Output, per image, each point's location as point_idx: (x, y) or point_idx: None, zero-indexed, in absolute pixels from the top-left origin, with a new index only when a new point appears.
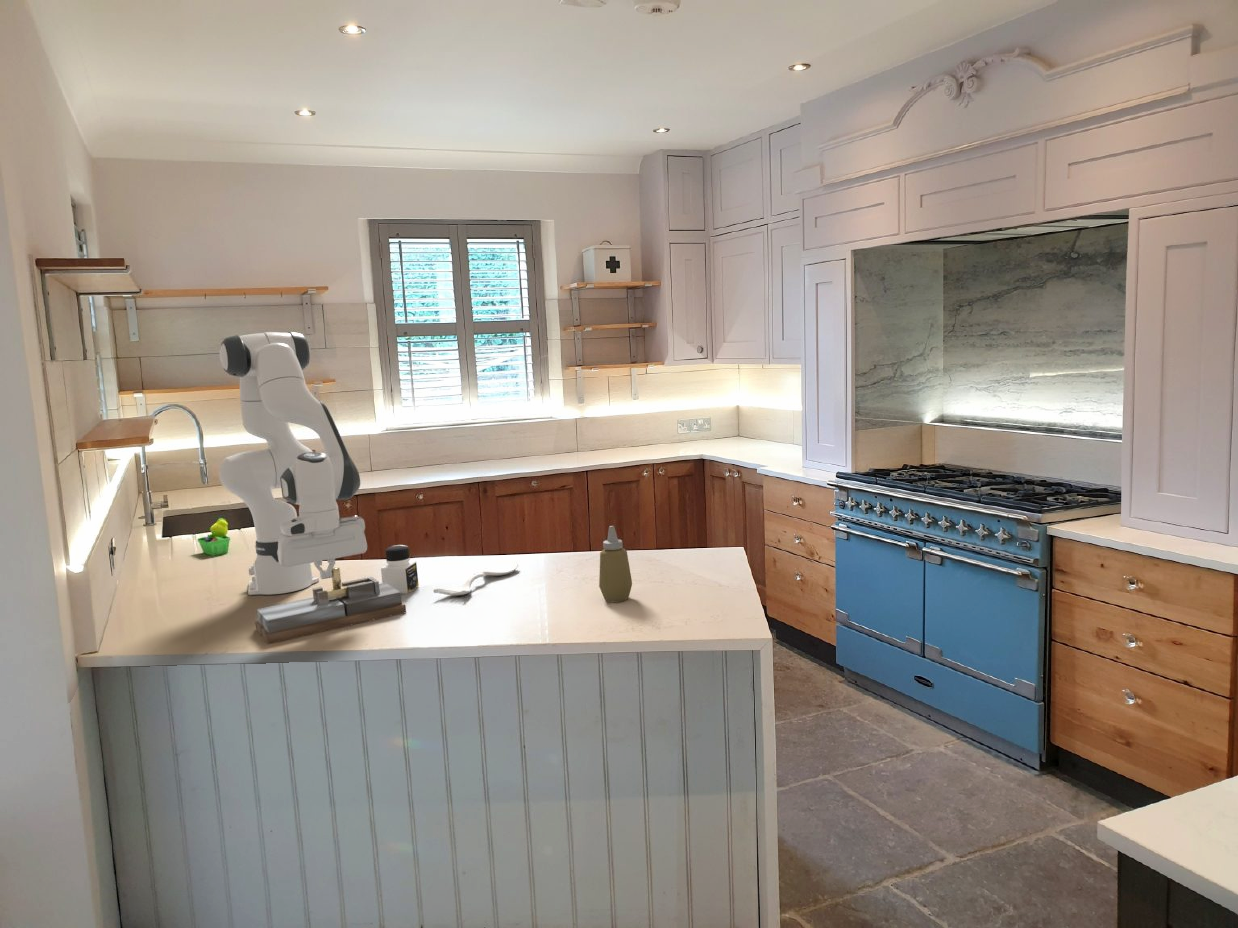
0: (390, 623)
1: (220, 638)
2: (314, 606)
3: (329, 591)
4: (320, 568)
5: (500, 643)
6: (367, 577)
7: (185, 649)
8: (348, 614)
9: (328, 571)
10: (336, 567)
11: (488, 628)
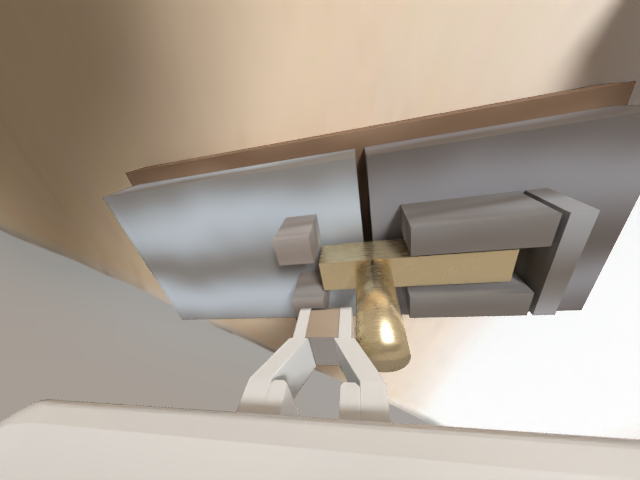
0: (454, 321)
1: (83, 194)
2: (288, 284)
3: (337, 288)
4: (292, 389)
5: None
6: (572, 213)
7: (44, 227)
8: None
9: (338, 363)
10: (396, 344)
11: (569, 425)
